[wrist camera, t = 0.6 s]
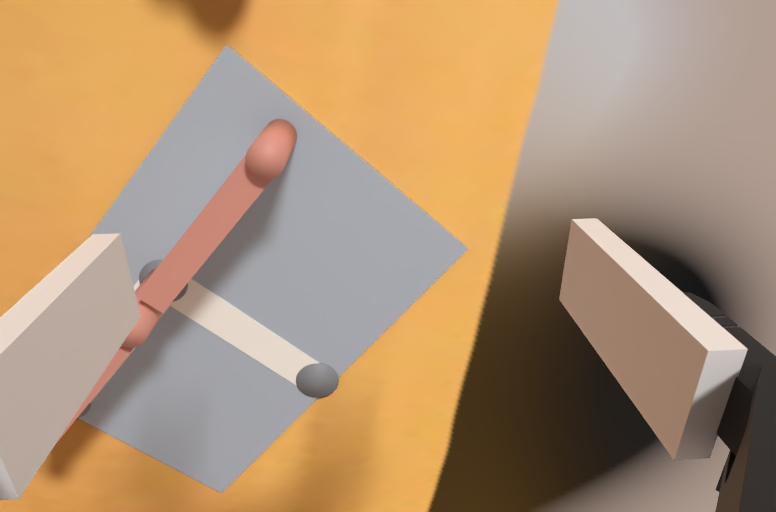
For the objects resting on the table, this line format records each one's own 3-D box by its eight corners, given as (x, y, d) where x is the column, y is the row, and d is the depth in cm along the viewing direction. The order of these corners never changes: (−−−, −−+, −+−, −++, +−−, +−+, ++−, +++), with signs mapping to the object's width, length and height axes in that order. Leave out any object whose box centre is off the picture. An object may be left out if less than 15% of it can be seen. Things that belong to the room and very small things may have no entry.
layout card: (-9, 374, 43) (-13, 378, 43) (227, 44, 34) (225, 45, 33) (223, 496, 50) (222, 500, 50) (472, 251, 41) (473, 254, 41)
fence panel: (189, 273, 39) (160, 320, 33) (163, 256, 39) (128, 301, 33) (303, 133, 36) (293, 158, 30) (277, 111, 35) (261, 132, 29)
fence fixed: (50, 398, 45) (-4, 468, 38) (160, 258, 40) (120, 309, 33) (77, 412, 45) (28, 483, 39) (188, 276, 41) (154, 330, 34)
